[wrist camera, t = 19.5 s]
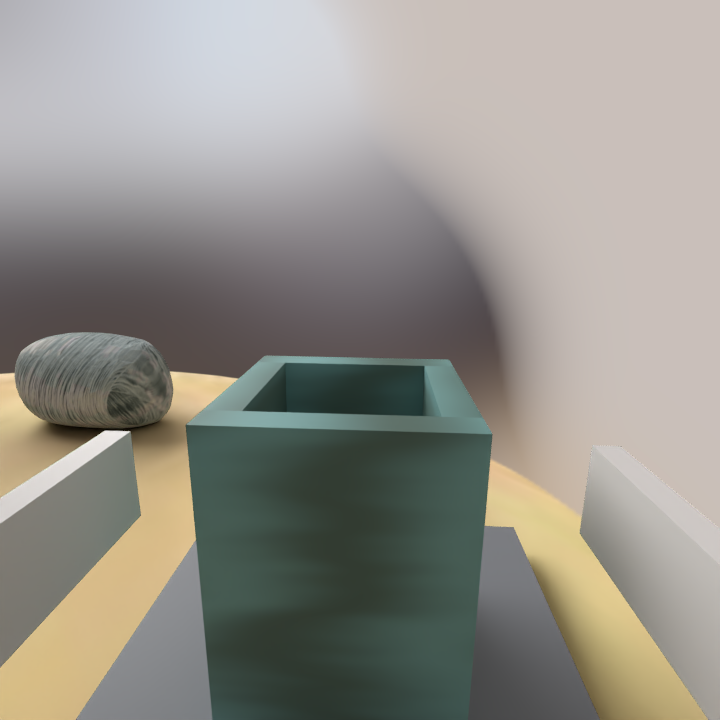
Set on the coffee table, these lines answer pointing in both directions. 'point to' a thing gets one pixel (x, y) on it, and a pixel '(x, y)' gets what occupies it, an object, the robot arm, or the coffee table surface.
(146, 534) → the coffee table surface
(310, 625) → the sleeve
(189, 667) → the hub plate
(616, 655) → the coffee table surface
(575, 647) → the coffee table surface
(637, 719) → the coffee table surface
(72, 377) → the grey rounded piece
